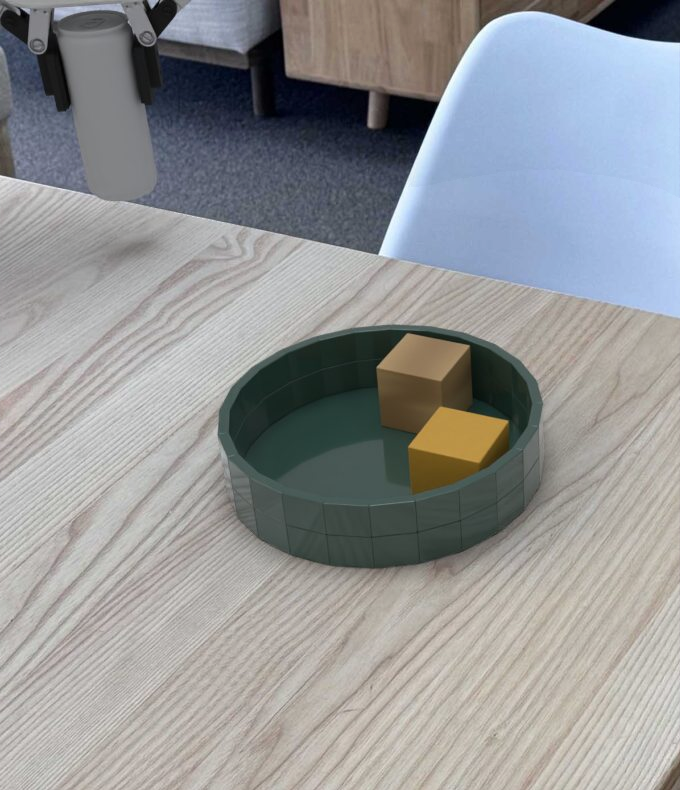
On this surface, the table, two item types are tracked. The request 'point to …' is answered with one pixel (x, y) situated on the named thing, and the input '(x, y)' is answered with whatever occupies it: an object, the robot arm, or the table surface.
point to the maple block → (423, 381)
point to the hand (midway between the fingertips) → (107, 98)
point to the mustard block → (455, 448)
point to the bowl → (368, 453)
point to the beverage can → (107, 104)
